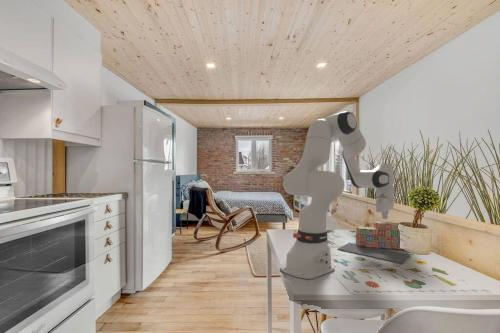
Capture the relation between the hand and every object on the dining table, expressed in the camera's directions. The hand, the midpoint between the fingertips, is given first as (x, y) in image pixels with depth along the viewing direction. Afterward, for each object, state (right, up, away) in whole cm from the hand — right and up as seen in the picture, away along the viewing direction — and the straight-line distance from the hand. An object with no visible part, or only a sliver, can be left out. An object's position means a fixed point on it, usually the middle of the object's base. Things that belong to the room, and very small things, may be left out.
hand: (385, 218), depth 135 cm
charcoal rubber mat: (-15, -13, -17) cm, 26 cm away
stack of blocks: (-8, -13, -9) cm, 17 cm away
